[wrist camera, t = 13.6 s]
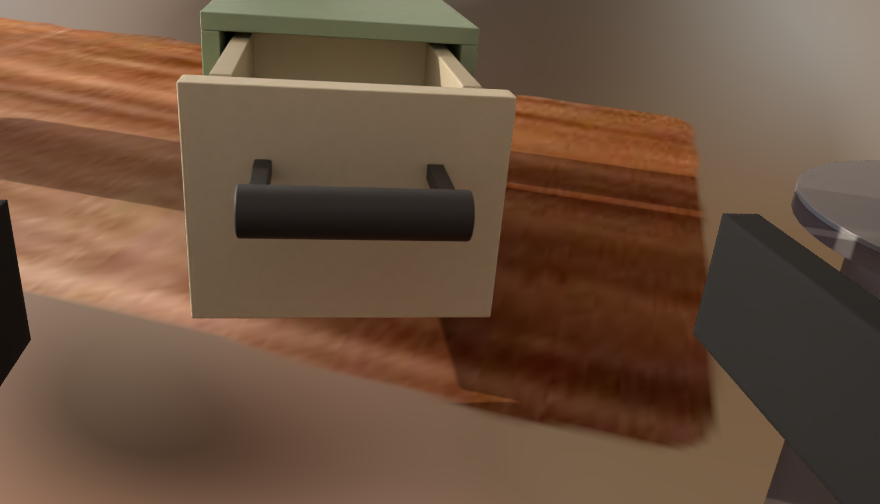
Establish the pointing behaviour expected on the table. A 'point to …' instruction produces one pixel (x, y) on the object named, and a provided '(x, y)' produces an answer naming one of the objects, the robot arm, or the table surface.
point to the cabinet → (339, 23)
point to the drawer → (342, 180)
